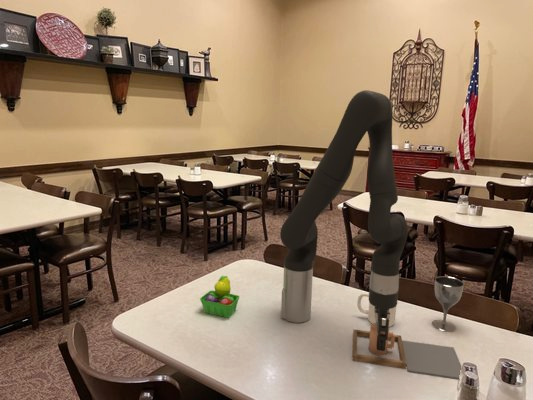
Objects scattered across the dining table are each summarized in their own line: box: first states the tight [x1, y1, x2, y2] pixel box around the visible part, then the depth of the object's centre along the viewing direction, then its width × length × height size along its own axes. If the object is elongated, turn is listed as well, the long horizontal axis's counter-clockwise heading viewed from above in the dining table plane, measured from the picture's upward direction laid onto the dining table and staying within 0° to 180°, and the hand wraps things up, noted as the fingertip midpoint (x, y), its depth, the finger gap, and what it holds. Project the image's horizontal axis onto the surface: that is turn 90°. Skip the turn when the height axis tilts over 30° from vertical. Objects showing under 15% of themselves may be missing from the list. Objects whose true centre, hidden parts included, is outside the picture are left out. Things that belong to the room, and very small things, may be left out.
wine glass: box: [431, 276, 465, 333], centre depth 121 cm, size 8×8×15 cm
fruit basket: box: [199, 275, 240, 318], centre depth 128 cm, size 11×9×11 cm
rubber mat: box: [402, 339, 463, 380], centre depth 105 cm, size 14×14×1 cm
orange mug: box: [368, 323, 396, 356], centre depth 108 cm, size 7×5×7 cm
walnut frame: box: [352, 328, 407, 370], centre depth 109 cm, size 14×14×2 cm
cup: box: [356, 291, 397, 328], centre depth 124 cm, size 8×12×10 cm
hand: (379, 341), depth 108 cm, fingers open, 8 cm apart
